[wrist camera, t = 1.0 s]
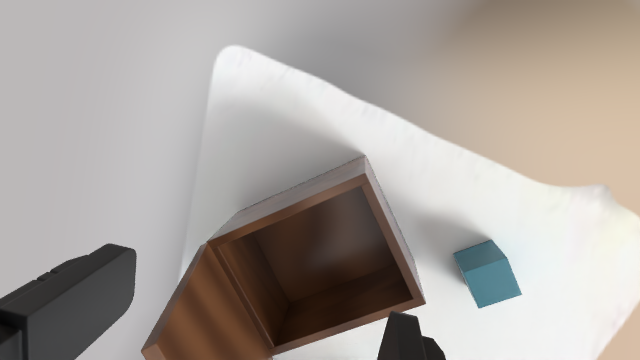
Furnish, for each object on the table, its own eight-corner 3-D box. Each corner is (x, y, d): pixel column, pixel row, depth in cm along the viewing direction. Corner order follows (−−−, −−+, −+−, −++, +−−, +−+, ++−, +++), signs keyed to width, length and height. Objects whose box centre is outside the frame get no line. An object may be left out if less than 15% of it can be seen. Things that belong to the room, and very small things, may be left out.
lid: (155, 343, 17) (139, 351, 17) (284, 548, 20) (271, 556, 20) (207, 242, 35) (199, 246, 35) (273, 357, 37) (266, 361, 37)
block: (505, 273, 41) (522, 294, 37) (467, 286, 42) (478, 308, 38) (491, 239, 41) (506, 257, 36) (452, 253, 42) (463, 272, 37)
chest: (365, 154, 40) (365, 172, 32) (414, 260, 42) (426, 303, 34) (237, 212, 44) (205, 242, 35) (288, 306, 46) (270, 356, 37)
